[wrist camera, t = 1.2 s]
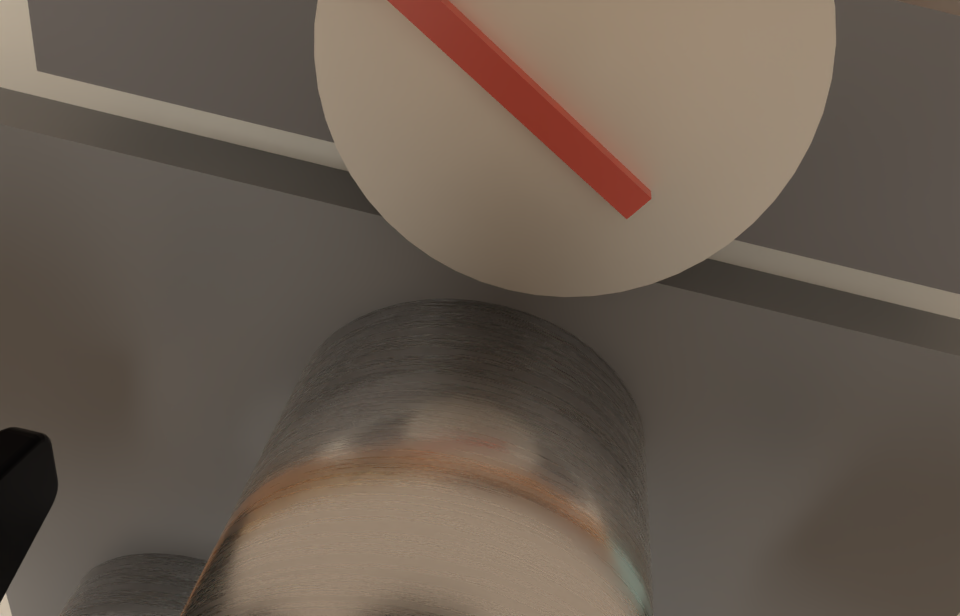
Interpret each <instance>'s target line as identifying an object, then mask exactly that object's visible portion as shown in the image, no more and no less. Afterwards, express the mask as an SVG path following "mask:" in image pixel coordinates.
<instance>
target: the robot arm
mask: <svg viewBox="0 0 960 616" xmlns="http://www.w3.org/2000/svg"><path fill="white" fill-rule="evenodd" d="M57 491H58V477H57V471H56V465H55V459H54V454H53V448H52V443H51V440H50V438H49V437H48V436H47V435H46V434H44V433H40V432H36V431H32V430H28V429H24V428H20V427H9V428H5V429H3V430H0V603H1V601H2V599H3V597H4V595H5V594H6V592H7V590H8V588H9V586H10V584H11V582H12V580H13V579H14V577H15V575H16V573H17V571H18V569H19V567H20V565H21V564H22V562H23V560H24V558H25V556H26V554H27V552H28V550H29V549H30V547H31V545H32V543H33V541H34V539H35V537H36V535H37V534H38V532H39V530H40V528H41V526H42V524H43V522H44V520H45V519H46V517H47V515H48V513H49V511H50V509H51V507H52V505H53V503H54V501H55V498H56V495H57Z"/></svg>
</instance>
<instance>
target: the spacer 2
mask: <svg viewBox="0 0 960 616" xmlns="http://www.w3.org/2000/svg"><path fill="white" fill-rule="evenodd" d="M180 616H654V608H653V589H652V569H651V550H650V530H649V511H648V492H647V472H646V453H645V435H644V431H643V426H642V421H641V417H640V414H639V412H638V409H637V407H636V404H635V402H634V399H633V398H632V396H631V394H630V393H629V391H628V389H627V388H626V386H625V384H624V382H623V381H622V380H621V379H620V377H619V376H618V375H617V374H616V372H615V371H614V370H613V369H612V368H611V366H610V365H609V364H608V363H607V362H606V361H605V360H604V359H602V358H601V357H600V356H599V355H598V354H597V353H596V352H595V351H594V350H593V349H592V348H590V347H589V346H587V345H586V344H585V343H583V342H582V341H581V340H579V339H578V338H576V337H575V336H574V335H572V334H570V333H568V332H567V331H565V330H563V329H561V328H560V327H558V326H556V325H554V324H553V323H550V322H548V321H546V320H543V319H541V318H539V317H536V316H534V315H532V314H529V313H526V312H523V311H520V310H516V309H513V308H510V307H506V306H503V305H498V304H493V303H487V302H482V301H477V300H464V299H424V300H418V301H411V302H405V303H399V304H396V305H392V306H388V307H385V308H381V309H378V310H375V311H373V312H371V313H368V314H366V315H364V316H361V317H359V318H357V319H355V320H354V321H352V322H350V323H349V324H347V325H345V326H344V327H342V328H340V329H339V330H338V331H337V332H335V333H334V334H333V335H332V336H331V337H329V338H328V339H327V340H326V341H325V342H324V343H323V344H322V345H321V346H320V348H319V349H318V350H317V351H316V352H315V353H314V355H313V356H312V357H311V359H310V361H309V362H308V364H307V366H306V367H305V369H304V371H303V373H302V375H301V377H300V379H299V381H298V383H297V385H296V387H295V389H294V391H293V393H292V395H291V397H290V399H289V401H288V403H287V405H286V407H285V409H284V411H283V412H282V414H281V416H280V418H279V420H278V422H277V424H276V426H275V428H274V430H273V432H272V434H271V436H270V438H269V440H268V442H267V444H266V446H265V448H264V450H263V452H262V454H261V456H260V458H259V460H258V462H257V464H256V466H255V468H254V470H253V472H252V474H251V476H250V478H249V480H248V482H247V484H246V486H245V488H244V490H243V492H242V494H241V496H240V498H239V500H238V502H237V504H236V506H235V508H234V510H233V512H232V514H231V516H230V518H229V520H228V522H227V524H226V526H225V528H224V530H223V532H222V534H221V536H220V538H219V540H218V542H217V544H216V546H215V548H214V549H213V551H212V553H211V555H210V557H209V559H208V561H207V563H206V565H205V567H204V569H203V571H202V573H201V575H200V577H199V579H198V581H197V583H196V585H195V587H194V589H193V591H192V593H191V595H190V597H189V599H188V601H187V603H186V605H185V607H184V609H183V611H182V613H181V615H180Z"/></svg>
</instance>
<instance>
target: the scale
mask: <svg viewBox="0 0 960 616" xmlns="http://www.w3.org/2000/svg"><path fill="white" fill-rule="evenodd" d="M424 299H464V300H477V301H482V302H487V303H493V304H498V305H503V306H506V307H510V308H513V309H516V310H520V311H523V312H526V313H529V314H532V315H534V316H536V317H539V318H541V319H543V320H546V321H548V322H550V323H553V324H554V325H556V326H558V327H560V328H561V329H563V330H565V331H567V332H568V333H570V334H572V335H574V336H575V337H576V338H578V339H579V340H581V341H582V342H583V343H585V344H586V345H587V346H589V347H590V348H592V349H593V350H594V351H595V352H596V353H597V354H598V355H599V356H600V357H601V358H602V359H604V360H605V361H606V362H607V363H608V364H609V365H610V366H611V368H612V369H613V370H614V371H615V372H616V374H617V375H618V376H619V377H620V379H621V380H622V381H623V382H624V384H625V386H626V388H627V389H628V391H629V393H630V394H631V396H632V398H633V399H634V402H635V404H636V407H637V409H638V412H639V414H640V417H641V421H642V426H643V431H644V435H645V453H646V472H647V492H648V511H649V530H650V550H651V569H652V589H653V608H654V616H960V0H0V430H3V429H5V428H9V427H20V428H24V429H28V430H32V431H36V432H40V433H44V434H46V435H47V436H48V437H49V438H50V440H51V443H52V448H53V454H54V459H55V465H56V471H57V477H58V491H57V495H56V498H55V501H54V503H53V505H52V507H51V509H50V511H49V513H48V515H47V517H46V519H45V520H44V522H43V524H42V526H41V528H40V530H39V532H38V534H37V535H36V537H35V539H34V541H33V543H32V545H31V547H30V549H29V550H28V552H27V554H26V556H25V558H24V560H23V562H22V564H21V565H20V567H19V569H18V571H17V573H16V575H15V577H14V579H13V580H12V582H11V584H10V586H9V588H8V590H7V592H6V594H5V595H4V597H3V599H2V601H1V603H0V616H59V615H60V613H61V611H62V610H63V608H64V607H65V605H66V604H67V602H68V601H69V599H70V598H71V596H72V594H73V593H74V591H75V590H76V588H77V587H78V585H79V584H80V582H81V581H82V579H83V578H84V577H85V576H86V574H87V573H88V572H90V571H91V570H92V569H93V568H95V567H96V566H98V565H100V564H102V563H104V562H106V561H108V560H111V559H114V558H117V557H121V556H127V555H132V554H144V553H162V554H174V555H182V556H188V557H193V558H198V559H203V560H206V561H208V559H209V557H210V555H211V553H212V551H213V549H214V548H215V546H216V544H217V542H218V540H219V538H220V536H221V534H222V532H223V530H224V528H225V526H226V524H227V522H228V520H229V518H230V516H231V514H232V512H233V510H234V508H235V506H236V504H237V502H238V500H239V498H240V496H241V494H242V492H243V490H244V488H245V486H246V484H247V482H248V480H249V478H250V476H251V474H252V472H253V470H254V468H255V466H256V464H257V462H258V460H259V458H260V456H261V454H262V452H263V450H264V448H265V446H266V444H267V442H268V440H269V438H270V436H271V434H272V432H273V430H274V428H275V426H276V424H277V422H278V420H279V418H280V416H281V414H282V412H283V411H284V409H285V407H286V405H287V403H288V401H289V399H290V397H291V395H292V393H293V391H294V389H295V387H296V385H297V383H298V381H299V379H300V377H301V375H302V373H303V371H304V369H305V367H306V366H307V364H308V362H309V361H310V359H311V357H312V356H313V355H314V353H315V352H316V351H317V350H318V349H319V348H320V346H321V345H322V344H323V343H324V342H325V341H326V340H327V339H328V338H329V337H331V336H332V335H333V334H334V333H335V332H337V331H338V330H339V329H340V328H342V327H344V326H345V325H347V324H349V323H350V322H352V321H354V320H355V319H357V318H359V317H361V316H364V315H366V314H368V313H371V312H373V311H375V310H378V309H381V308H385V307H388V306H392V305H396V304H399V303H405V302H411V301H418V300H424Z"/></svg>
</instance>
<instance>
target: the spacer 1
mask: <svg viewBox="0 0 960 616" xmlns="http://www.w3.org/2000/svg"><path fill="white" fill-rule="evenodd" d="M206 563H207V561H206V560H203V559H198V558H193V557H188V556H182V555H174V554H162V553H144V554H132V555H127V556H121V557H117V558H114V559H111V560H108V561H106V562H104V563H102V564H100V565H98V566H96V567H95V568H93V569H92V570H91V571H90V572H88V573H87V574H86V576H85V577H84V578H83V579H82V581H81V582H80V584H79V585H78V587H77V588H76V590H75V591H74V593H73V594H72V596H71V598H70V599H69V601H68V602H67V604H66V605H65V607H64V608H63V610H62V611H61V613H60V615H59V616H180V615H181V613H182V611H183V609H184V607H185V605H186V603H187V601H188V599H189V597H190V595H191V593H192V591H193V589H194V587H195V585H196V583H197V581H198V579H199V577H200V575H201V573H202V571H203V569H204V567H205V565H206Z"/></svg>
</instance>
